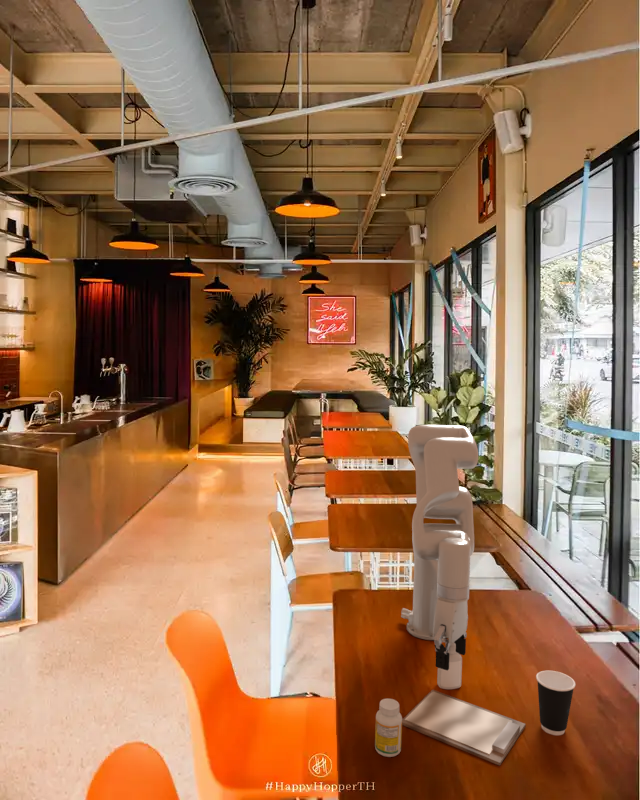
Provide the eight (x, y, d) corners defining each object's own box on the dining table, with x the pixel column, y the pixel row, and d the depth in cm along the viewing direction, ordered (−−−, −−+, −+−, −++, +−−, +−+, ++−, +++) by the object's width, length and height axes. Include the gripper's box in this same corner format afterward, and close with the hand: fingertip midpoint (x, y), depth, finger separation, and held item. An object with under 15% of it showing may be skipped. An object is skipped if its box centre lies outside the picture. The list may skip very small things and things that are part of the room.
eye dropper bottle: (459, 693, 146) (461, 644, 145) (435, 687, 148) (437, 639, 147) (462, 683, 150) (464, 636, 149) (439, 679, 152) (440, 632, 151)
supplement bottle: (391, 761, 121) (393, 715, 120) (369, 749, 124) (370, 704, 124) (406, 748, 125) (407, 703, 124) (384, 737, 128) (385, 693, 128)
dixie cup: (580, 737, 130) (583, 687, 129) (547, 742, 128) (550, 691, 127) (558, 715, 138) (560, 668, 137) (526, 719, 136) (528, 671, 135)
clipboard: (400, 724, 133) (400, 717, 133) (432, 691, 146) (432, 685, 146) (499, 765, 120) (500, 757, 120) (525, 726, 133) (525, 719, 133)
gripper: (453, 577, 156) (450, 643, 157) (422, 597, 142) (420, 669, 143) (481, 584, 152) (479, 652, 152) (453, 605, 138) (450, 679, 138)
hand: (450, 660), depth 148 cm, fingers open, 9 cm apart
